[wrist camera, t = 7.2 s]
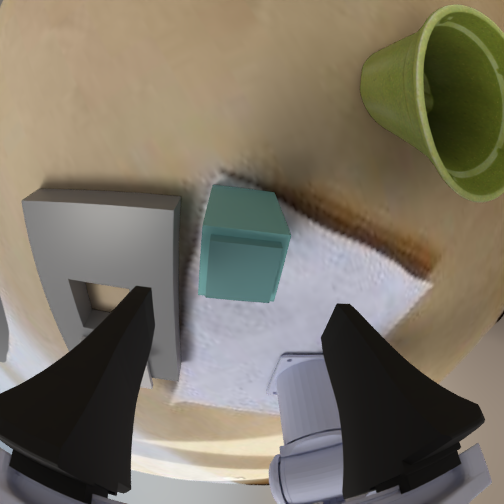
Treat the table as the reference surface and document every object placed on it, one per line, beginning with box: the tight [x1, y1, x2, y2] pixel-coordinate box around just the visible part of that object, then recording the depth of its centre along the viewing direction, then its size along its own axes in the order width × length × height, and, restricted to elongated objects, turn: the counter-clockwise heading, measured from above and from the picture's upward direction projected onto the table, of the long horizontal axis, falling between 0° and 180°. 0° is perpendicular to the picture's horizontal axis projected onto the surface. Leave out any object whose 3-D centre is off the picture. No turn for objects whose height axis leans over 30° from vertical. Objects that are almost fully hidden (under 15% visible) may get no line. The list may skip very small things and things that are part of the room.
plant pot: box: [360, 5, 504, 202], centre depth 10 cm, size 9×9×9 cm
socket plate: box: [22, 189, 181, 381], centre depth 20 cm, size 12×18×2 cm, turn 171°
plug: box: [198, 185, 291, 303], centre depth 15 cm, size 4×4×7 cm
